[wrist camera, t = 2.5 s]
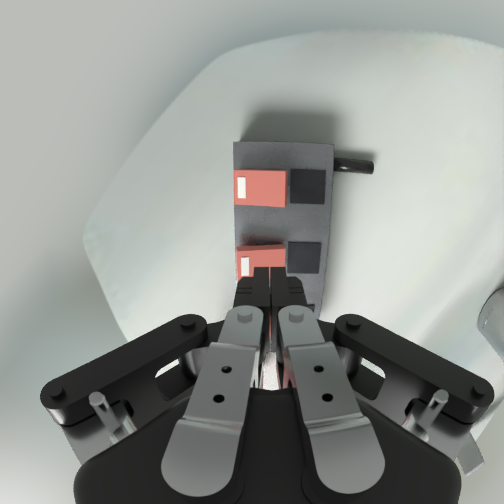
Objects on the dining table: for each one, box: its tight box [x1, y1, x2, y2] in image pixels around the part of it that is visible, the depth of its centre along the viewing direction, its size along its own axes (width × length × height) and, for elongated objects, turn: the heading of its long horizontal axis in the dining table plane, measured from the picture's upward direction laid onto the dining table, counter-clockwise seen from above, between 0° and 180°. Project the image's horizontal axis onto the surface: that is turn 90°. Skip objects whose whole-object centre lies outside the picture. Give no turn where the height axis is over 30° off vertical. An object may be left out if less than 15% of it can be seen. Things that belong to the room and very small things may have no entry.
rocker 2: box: [236, 244, 286, 281], centre depth 26 cm, size 4×3×1 cm
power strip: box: [233, 142, 374, 344], centre depth 28 cm, size 14×22×4 cm, turn 0°
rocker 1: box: [234, 169, 288, 207], centre depth 23 cm, size 4×3×1 cm
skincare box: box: [457, 432, 484, 477], centre depth 40 cm, size 8×7×16 cm
